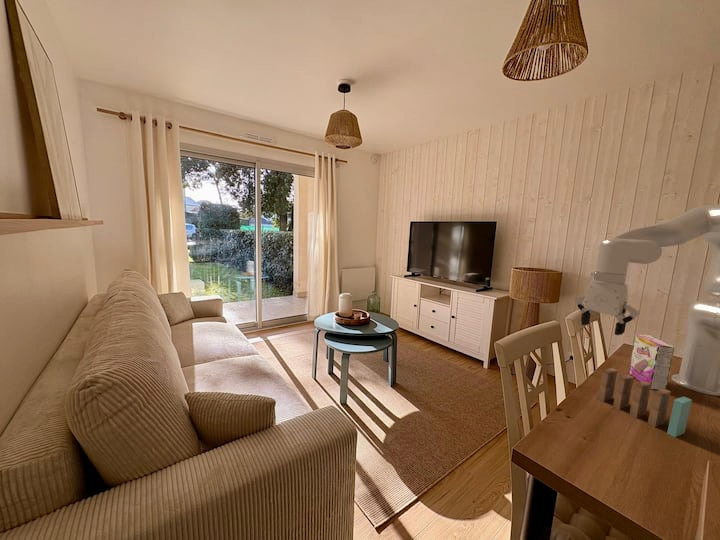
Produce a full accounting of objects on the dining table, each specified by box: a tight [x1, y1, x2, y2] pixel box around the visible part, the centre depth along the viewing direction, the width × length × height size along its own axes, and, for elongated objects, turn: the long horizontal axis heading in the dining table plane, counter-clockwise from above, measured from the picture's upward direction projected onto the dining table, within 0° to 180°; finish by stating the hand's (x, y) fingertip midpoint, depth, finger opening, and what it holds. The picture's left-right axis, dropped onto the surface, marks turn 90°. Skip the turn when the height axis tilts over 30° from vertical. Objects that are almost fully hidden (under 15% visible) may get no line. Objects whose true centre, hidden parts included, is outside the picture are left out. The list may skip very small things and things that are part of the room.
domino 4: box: [647, 388, 672, 428], centre depth 82 cm, size 5×2×10 cm, turn 112°
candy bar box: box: [628, 333, 675, 391], centre depth 104 cm, size 11×5×16 cm, turn 168°
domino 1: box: [597, 367, 619, 403], centre depth 93 cm, size 5×2×10 cm, turn 112°
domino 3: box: [629, 381, 652, 419], centre depth 86 cm, size 5×2×10 cm, turn 112°
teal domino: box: [666, 396, 693, 438], centre depth 78 cm, size 5×2×10 cm, turn 112°
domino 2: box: [612, 373, 635, 410], centre depth 89 cm, size 5×2×10 cm, turn 112°
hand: (601, 329), depth 94 cm, fingers open, 9 cm apart
